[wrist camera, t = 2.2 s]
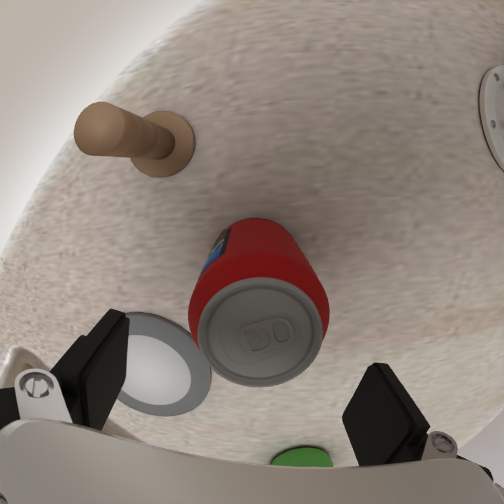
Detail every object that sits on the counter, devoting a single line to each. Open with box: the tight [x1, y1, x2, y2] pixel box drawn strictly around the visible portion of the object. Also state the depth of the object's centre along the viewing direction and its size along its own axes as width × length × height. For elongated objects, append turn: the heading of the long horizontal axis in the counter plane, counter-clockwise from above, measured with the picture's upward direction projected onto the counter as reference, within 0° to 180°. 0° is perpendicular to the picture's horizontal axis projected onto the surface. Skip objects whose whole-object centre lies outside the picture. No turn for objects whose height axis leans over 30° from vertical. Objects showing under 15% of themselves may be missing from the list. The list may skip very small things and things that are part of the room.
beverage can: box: [188, 218, 329, 387], centre depth 18 cm, size 7×7×12 cm
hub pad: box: [117, 312, 211, 416], centre depth 26 cm, size 12×12×1 cm
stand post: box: [74, 102, 195, 177], centre depth 16 cm, size 5×5×11 cm
